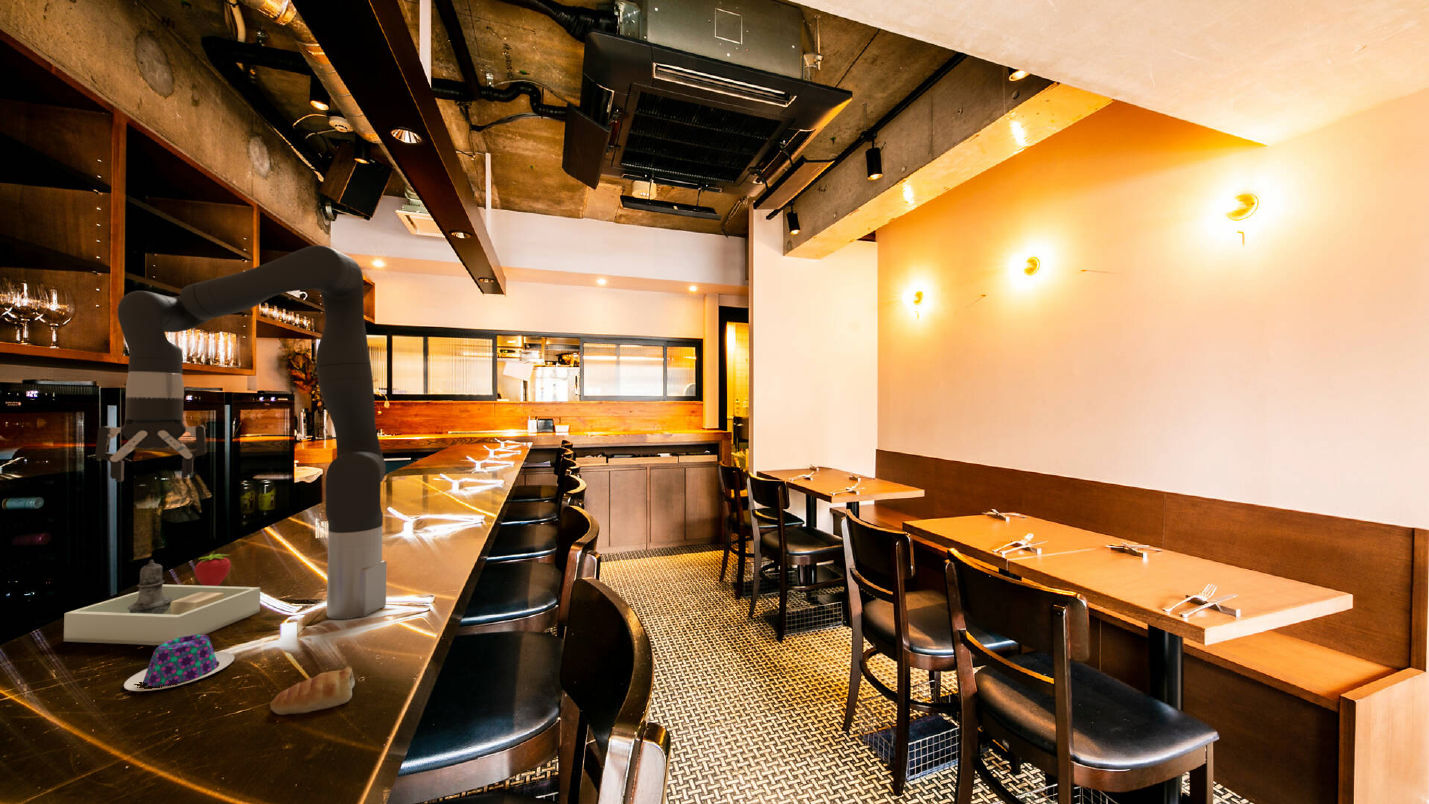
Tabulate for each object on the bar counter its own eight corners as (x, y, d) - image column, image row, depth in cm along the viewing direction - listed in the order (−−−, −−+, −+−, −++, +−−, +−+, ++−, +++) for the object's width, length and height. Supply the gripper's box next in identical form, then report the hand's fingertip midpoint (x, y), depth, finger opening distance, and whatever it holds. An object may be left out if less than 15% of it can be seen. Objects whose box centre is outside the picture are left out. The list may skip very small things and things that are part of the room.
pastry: (265, 726, 66) (266, 697, 66) (275, 702, 72) (275, 675, 72) (353, 704, 72) (353, 677, 72) (355, 683, 77) (355, 658, 77)
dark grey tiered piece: (166, 623, 96) (167, 560, 96) (120, 630, 93) (122, 565, 93) (177, 613, 101) (178, 553, 101) (134, 619, 98) (135, 558, 98)
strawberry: (229, 584, 119) (230, 542, 120) (231, 592, 114) (232, 548, 114) (194, 590, 115) (195, 546, 115) (193, 599, 110) (194, 553, 110)
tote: (259, 611, 103) (260, 587, 103) (177, 645, 88) (177, 617, 88) (161, 608, 105) (162, 584, 105) (63, 641, 90) (64, 613, 90)
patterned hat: (182, 656, 85) (183, 625, 85) (254, 656, 86) (255, 625, 86) (97, 696, 73) (98, 660, 73) (181, 695, 74) (182, 659, 74)
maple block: (223, 618, 99) (223, 592, 99) (195, 629, 94) (195, 602, 94) (199, 617, 99) (200, 592, 99) (170, 628, 94) (171, 601, 94)
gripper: (92, 394, 90) (90, 485, 90) (205, 396, 99) (203, 478, 99) (103, 395, 96) (101, 480, 95) (209, 397, 105) (207, 474, 105)
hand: (153, 479), depth 97 cm, fingers open, 8 cm apart
